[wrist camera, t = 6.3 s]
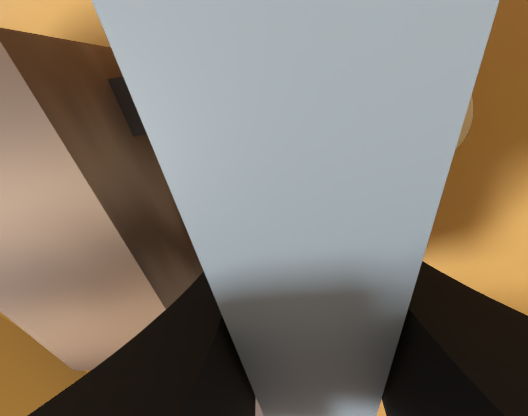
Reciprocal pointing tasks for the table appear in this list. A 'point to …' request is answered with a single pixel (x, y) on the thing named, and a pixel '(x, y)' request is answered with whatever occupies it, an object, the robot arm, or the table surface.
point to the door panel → (305, 168)
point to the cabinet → (81, 203)
